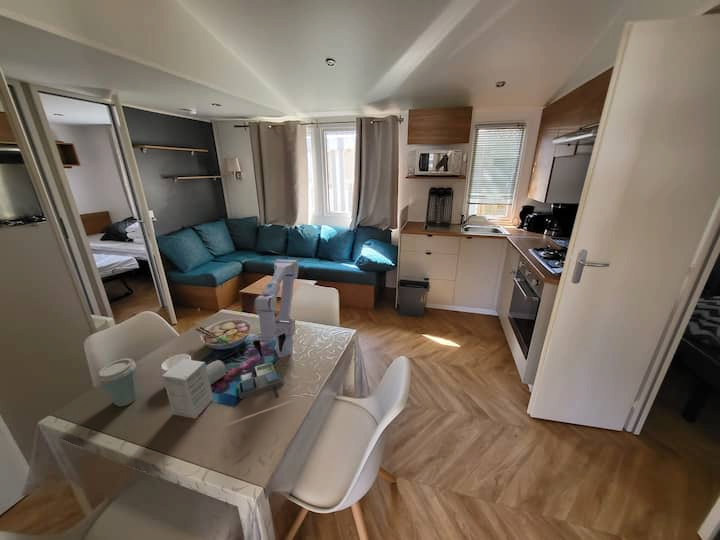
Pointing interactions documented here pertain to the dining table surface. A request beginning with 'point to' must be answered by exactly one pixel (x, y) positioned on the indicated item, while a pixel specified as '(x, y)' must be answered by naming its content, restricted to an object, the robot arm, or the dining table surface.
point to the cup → (173, 362)
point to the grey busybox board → (263, 384)
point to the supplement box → (188, 388)
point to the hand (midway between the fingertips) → (271, 353)
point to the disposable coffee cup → (120, 381)
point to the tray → (264, 369)
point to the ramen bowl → (226, 333)
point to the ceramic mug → (216, 371)
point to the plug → (247, 382)
